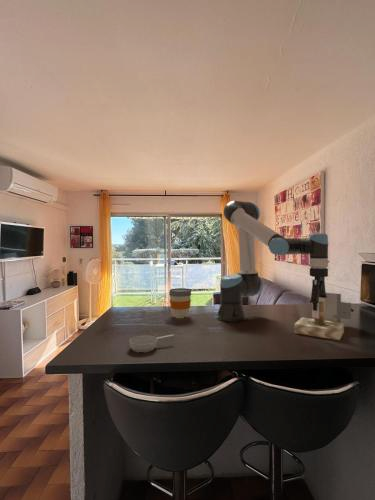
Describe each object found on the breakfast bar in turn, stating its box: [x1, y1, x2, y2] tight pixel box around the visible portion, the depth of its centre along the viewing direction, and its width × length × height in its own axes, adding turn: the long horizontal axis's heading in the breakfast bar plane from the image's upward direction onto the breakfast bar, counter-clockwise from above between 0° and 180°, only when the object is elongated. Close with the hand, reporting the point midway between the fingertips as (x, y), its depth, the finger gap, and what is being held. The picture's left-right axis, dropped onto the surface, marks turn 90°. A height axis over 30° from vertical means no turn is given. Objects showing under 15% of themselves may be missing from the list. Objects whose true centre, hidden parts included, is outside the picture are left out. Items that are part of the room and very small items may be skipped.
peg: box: [313, 301, 324, 325], centre depth 126 cm, size 4×4×14 cm
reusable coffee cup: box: [168, 287, 192, 319], centre depth 158 cm, size 13×13×15 cm
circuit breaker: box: [324, 292, 354, 322], centre depth 135 cm, size 8×14×15 cm, turn 78°
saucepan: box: [128, 333, 175, 353], centre depth 110 cm, size 11×18×4 cm, turn 114°
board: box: [293, 317, 345, 341], centre depth 126 cm, size 18×14×4 cm
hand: (318, 314), depth 126 cm, fingers open, 13 cm apart
